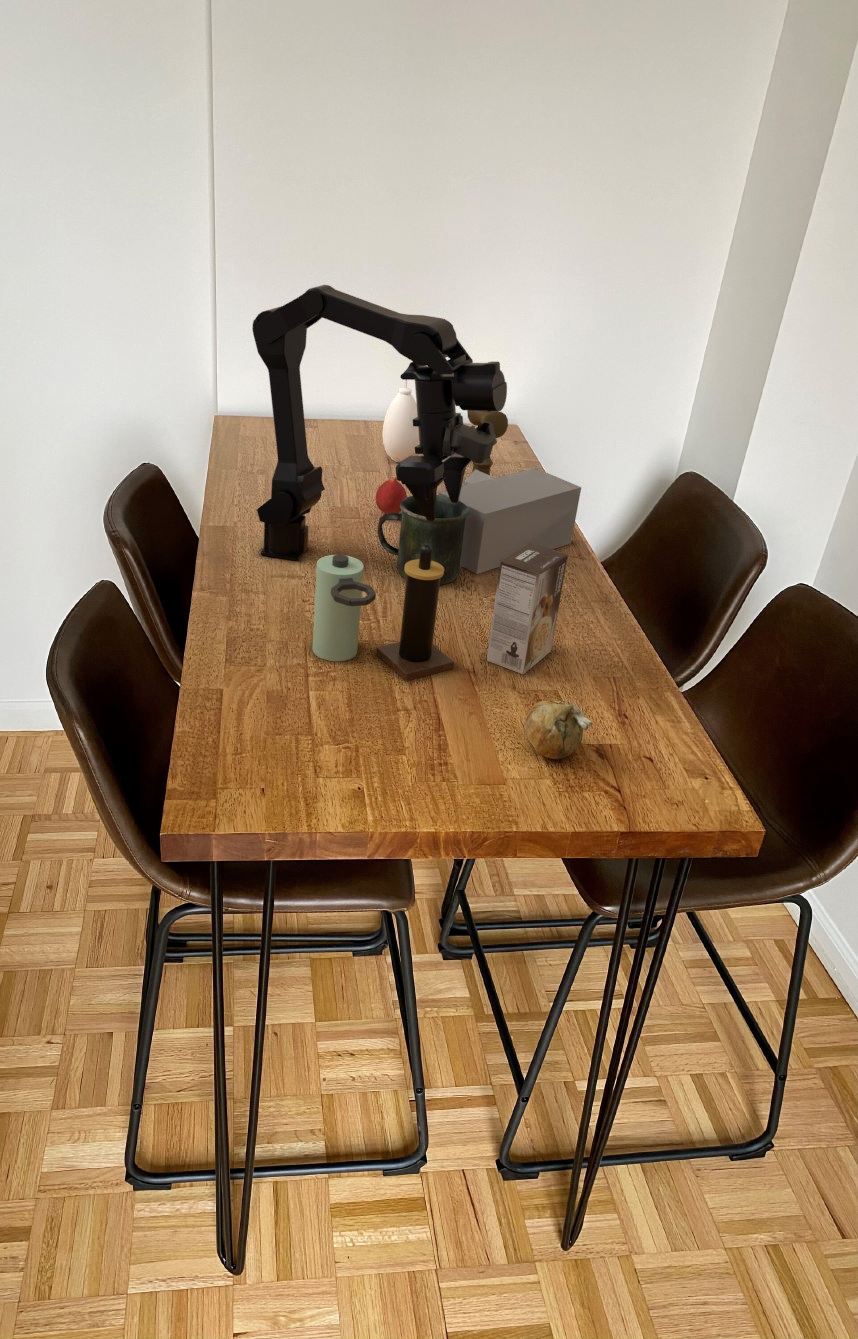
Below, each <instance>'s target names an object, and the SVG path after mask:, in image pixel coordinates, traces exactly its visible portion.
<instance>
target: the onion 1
mask: <svg viewBox="0 0 858 1339" xmlns="http://www.w3.org/2000/svg"><path fill="white" fill-rule="evenodd" d="M407 497H408V493H407V490H406V489H405V487H404V486H403V484H402V483H401V482H400V481H398V480H397V479H396V475H393V476H391V477H390V478H389V479H388V480H385V481H384V482H383V483H382V484H380V486H379V487H378V488H377V490H376V492H375V504H376V506H377V508H378V509H379V510H380V511H381V512H382V514H387V513H401V512H402V510H401V508H400V503H401V501H402V500H403V499H405V498H407Z"/></svg>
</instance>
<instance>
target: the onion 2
mask: <svg viewBox="0 0 858 1339" xmlns="http://www.w3.org/2000/svg"><path fill="white" fill-rule="evenodd" d="M593 724H594V723H593V722H592V720H590V719H589V718H587V716H586V715H585V714H584V711H583V710H582V709H581V708H579V706H577V704H575V703H570V702H566V701H565V700H563V701H562V700H540V701H537V702H536V703H535V704H534V705H532V707H531V708H530V710H528V713H527V714H526V716H525V718H524V730H525V735H526V737H527V740H528V741H529V743H531V745H532V747H533V748H534V751H535V752H536V753H537V754H539V755H541V756H543V757H545V758H547V759H551V760H561V759H565V758H567V757H568V756H570V755H572V754H573V753H574V752H575V751H576V750H577V749H578V747H580V744H581V742H582V741H583V736H584V731H586V730H588V729H589V728H590V727H592V726H593Z"/></svg>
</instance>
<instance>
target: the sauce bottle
mask: <svg viewBox="0 0 858 1339" xmlns="http://www.w3.org/2000/svg"><path fill="white" fill-rule="evenodd" d="M403 386H404V387H400V388H399V389H398V393H396V395H395V396H394V397H393V399H392V400H391V402H390V404H389V406H388V408H387V411H386V413H385V417H384V420H383V426H382V443H383V447H384V450H385V452H386V455H387V456H388V457H390V458H391V460H392V461H394V462H395V463H398V464H399V463H400V462H401V461H402V460H404V459H406V458H407V457H409V456H410V455H411V456H414V454H415V447H416V446H417V445H419V430H418V427H417V426H413V419H414V418H416V417H417V404H416V398H415V397H414V396H413V394H412V389H410V388H408V380H404V385H403Z"/></svg>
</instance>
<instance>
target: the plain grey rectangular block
mask: <svg viewBox="0 0 858 1339" xmlns="http://www.w3.org/2000/svg"><path fill="white" fill-rule="evenodd" d="M471 472H472V471H471ZM470 474H471V473H470ZM470 474H469V475H470ZM469 475H468V476H469ZM468 476H467V478H466V479H465V480H463V485H462V487H461V491H460V496H459V501H460V502H462V503H464V504H465V505H466V506H467V507H468V508H469V514H468V516H467V517H466V520H465V528H464V536H463V544H462V552H461V560H460V567H462V568H463V569H466V570H468V571H469V572H472V573H473V574H475V575H479V574H482V573H485V572H488V571H492V570H494V569H497V568H500V562H501V561H502V560H504V559H505V558H507V557H508V556H510V555H511V554H513V553H515V552H516V551H518V550H519V549H521V548H522V547H524V546H525V545H527V544H528V543H532V544H535V545H539V546H542V547H546V548H549V549H552V550H555V549H558V548H561V547H564V546H568V545H571V544H572V540H573V535H574V529H575V524H576V520H577V513H578V508H579V503H580V497H581V491H582V486H579V485H577V484H575V483H572V482H570V481H568V480H565V479H563V478H560V477H558V476H556V475H554V474H551V473H549V472H546V471H543V470H542V469H539V468H537V467H533V468H529V469H526V470H521V471H517V472H513V473H509V474H506V475H505V474H504V475H501V476H497V477H494V476H492V475H490V476H489V475H487V474H485V473H483V472H480V471H478V470H476V469H475V470H474V471H473V472H472V474H471V475H470V476H469V477H468ZM437 495H441V496H446V497H449V495H448V493H447V490H446V489H445V490H440V491H438V492H437Z"/></svg>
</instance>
